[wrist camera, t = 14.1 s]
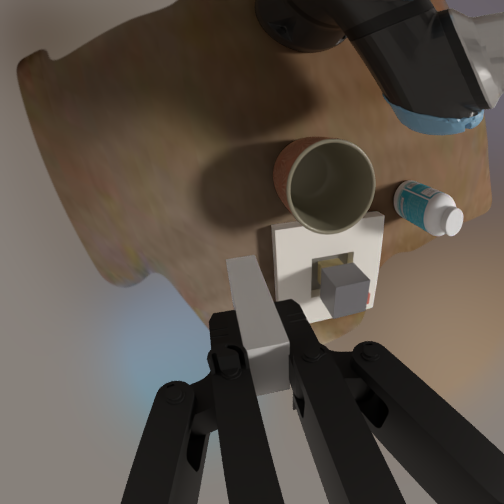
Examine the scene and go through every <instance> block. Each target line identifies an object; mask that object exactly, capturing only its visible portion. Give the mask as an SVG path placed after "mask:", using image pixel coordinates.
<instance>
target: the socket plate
mask: <svg viewBox="0 0 504 504" xmlns="http://www.w3.org/2000/svg"><path fill="white" fill-rule="evenodd" d="M384 218H385V215H383V214H381V213H380V212H378V211H373V212H367V213H366V214H365V215H364V217H363V218H362V219H361V220H360V221H359V222H358V223H357V224H355V225H354V226H353V227H351V228H349V229H348V230H346V231H343V232H340V233H337V234H330V235H325V234H318V233H315V232H312V231H310V230H308V229H306V228H305V227H303V226H302V225H301V224H300V223H299V222H298V221H295V222H287V223H280V224H273V225H271V229H272V245H273V261H274V278H275V296H276V302H277V301H283V300H288V299H293V300H294V301H295V302H297V303H298V304H300V306H301V308H302V310H303V312H304V314H305V316H306V318H307V320H308V322H309V323H312V322H317V321H321V320H325V319H330V318H332V316H331V315H330V313H329V311H328V310H327V308H326V307H325V305H324V304H323V302H322V300H321V299H320V288H321V285H320V284H319V282H318V281H317V280H318V262H319V261H324V260H330V259H335V258H339V259H340V260H341V262H342V263H343V264H347V263H352V262H353V263H354V264H355V265H356V266H357V267H358V268H359V269H360V270H361V271H362V272H363V273H364V274H365V275H366V276H367V277H368V278H369V279H370V286H369V293H368V299H367V305H366V309H369V308H372V307H373V302H374V296H375V290H376V284H377V278H378V271H379V264H380V256H381V248H382V239H383V229H384Z"/></svg>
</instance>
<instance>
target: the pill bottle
mask: <svg viewBox="0 0 504 504" xmlns="http://www.w3.org/2000/svg"><path fill="white" fill-rule="evenodd" d="M394 207H395V210H396V212H397V213H398V214H399V215H400V216H401V217H403V218H405V219H406V220H408V221H410V222H411V223H413V224H415V225H417V226H418V227H420V228H422V229H423V230H425V231H427V232H428V233H430V234H432V235H434V236H442V235H444V234H447V235H449V236H454V235H456V234H457V233H458V231H459V230H460V228H461V226H462V223H463V213H462V211H461V210H460V209H459V208H457V207H456V205H455V202H454V200H453V199H452V198H451V197H450V196H449V195H448V194H445V193H443V192H441V191H438V190H436V189H433V188H431V187H428V186H426V185H423V184H421V183H418V182H416V181H412V180H408V181H405V182H403V183H402V184H401V185H400V186H399V187H398V188H397V190H396V192H395V195H394Z"/></svg>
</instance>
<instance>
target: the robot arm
mask: <svg viewBox="0 0 504 504" xmlns="http://www.w3.org/2000/svg"><path fill="white" fill-rule="evenodd" d="M255 11H256V15H257V18H258V21H259V22H260V24H261V26H262V27H263V29H264V30H265V31H266V32H267V33H268V34H269V35H270V36H271V37H272V38H273V39H275V40H276V41H277V42H279V43H281V44H282V45H284V46H286V47H289V48H291V49H294V50H298V51H302V52H321V51H325V50H328V49H330V48H333V47H335V46H337V45H339V44H340V43H341V42H343V41H344V40H345V39H346V38H348V39H349V40H350V42H351V44H352V45H353V46H354V48H355V49H356V51H357V52H358V54H359V55H360V57H361V58H362V60H363V61H364V63H365V64H366V66H367V68H368V69H369V71H370V72H371V74H372V76H373V77H374V79H375V80H376V82H377V84H378V86H379V87H380V89H381V91H382V92H383V97H384V99H385V100H386V101H387V102H388V103H389V104H390V105H391V107H392V109H393V111H394V112H395V114H396V116H397V118H398V119H399V120H400V121H401V123H402V124H404V125H406V126H407V127H408V128H410V129H411V130H413V131H416V132H419V133H423V134H429V135H451V134H457V133H461V132H464V131H465V128H468V129H472V128H474V127H475V126H477V125H478V124H479V123H480V122H481V120H482V119H483V113H484V109H492V108H494V107H495V105H496V103H497V102H498V100H499V97H500V96H501V95H502V94H503V93H504V12H502V13H495V14H489V15H484V16H479V17H468V16H466V15H464V14H462V13H460V12H458V11H456V10H454V9H447V10H443V11H439V12H438V11H436V9H435V7H434V6H433V4H432V3H431V1H430V0H256V1H255ZM226 263H227V270H228V276H229V282H230V289H231V295H232V301H233V306H234V310H231V311H225V312H219V313H213V315H212V317H211V319H210V321H209V329H210V340H211V350H210V352H209V353H208V356H207V360H208V364H209V367H210V370H211V371H210V373H209V374H208V375H207V376H206V377H205V378H204V379H202V380H200V381H198V382H196V383H193V384H191V385H189V384H187V383H186V382H182V381H171V382H169V383H166V384H165V385H163V386H162V387H161V388H160V389H159V390H158V392H157V394H156V397H155V399H154V402H153V405H152V408H151V411H150V414H149V417H148V420H147V423H146V426H145V428H144V431H143V435H142V437H141V440H140V444H139V446H138V449H137V452H136V456H135V459H134V462H133V465H132V468H131V471H130V474H129V478H128V481H127V484H126V488H125V491H124V494H123V498H122V501H121V504H197V502H198V497H199V491H200V485H201V480H202V474H203V468H204V463H205V458H206V452H207V446H208V440H209V436H210V432H213V431H215V430H217V429H218V434H219V440H220V448H221V455H222V462H223V469H224V476H225V481H226V488H227V494H228V499H229V504H284V500H283V497H282V493H281V489H280V486H279V483H278V478H277V475H276V471H275V467H274V464H273V460H272V456H271V452H270V448H269V444H268V440H267V436H266V433H265V428H264V424H263V420H262V416H261V412H260V408H259V404H258V400H257V396H259V395H264V394H269V393H273V392H278V391H283V390H287V389H290V384H291V387H292V390H293V410H295V409H297V412H298V415H299V418H300V421H301V424H302V427H303V430H304V432H305V436H306V438H307V441H308V444H309V447H310V450H311V453H312V456H313V459H314V462H315V464H316V467H317V470H318V473H319V476H320V478H321V482H322V484H323V487H324V490H325V493H326V496H327V499H328V502H329V504H406V503H405V501H404V498H403V496H402V494H401V492H400V490H399V488H398V486H397V484H396V482H395V480H394V477H393V475H392V473H391V471H390V469H389V467H388V465H387V463H386V461H385V459H384V457H383V455H382V453H381V451H380V449H379V447H378V445H377V443H376V441H375V439H374V437H373V434H374V435H375V436H376V438H377V439H378V440H379V441H380V442H381V443H382V444H383V445H384V447H385V448H386V449H387V450H388V451H389V452H390V453H391V454H392V455H393V456H394V458H396V460H397V461H398V462H399V463H400V464H401V465H402V466H403V467H404V468H405V470H407V472H408V473H409V474H410V475H411V476H412V477H413V478H414V479H415V480H416V481H417V482H418V483H419V485H420V486H421V487H422V488H423V489H424V490H425V491H426V492H427V493H428V494H429V495H430V496H431V497H432V498H433V499H434V500H435V502H436V503H437V504H504V454H503V453H502V452H501V451H500V450H499V449H498V448H497V447H496V446H495V445H494V444H492V443H491V442H490V441H489V440H488V439H487V438H486V437H485V436H484V435H483V434H481V433H480V432H479V431H478V430H477V429H476V428H475V427H474V426H473V425H472V424H471V423H469V422H468V421H467V420H466V419H465V418H464V417H463V416H462V415H461V414H460V413H458V412H457V411H456V410H455V409H454V408H453V407H451V405H449V404H448V403H447V402H446V401H445V400H444V399H443V398H442V397H441V396H439V395H438V394H437V393H436V392H435V391H434V390H433V389H431V388H430V387H429V386H428V385H427V384H426V383H425V382H424V381H423V380H421V379H420V378H419V377H418V376H417V375H416V374H415V373H413V372H412V371H411V370H410V369H409V368H408V367H407V366H405V365H404V364H403V363H402V362H401V361H400V360H399V359H397V358H396V357H395V356H394V355H393V354H392V353H390V352H389V351H388V350H387V349H386V348H385V347H384V346H382V345H381V344H379V343H376V342H373V341H365V342H362V343H359V344H358V345H357V346H356V347H354V349H353V352H336V351H331V350H329V349H328V348H327V347H326V346H324V345H322V344H320V343H319V341H318V339H317V337H316V335H315V333H314V331H313V330H312V328H311V326H310V324H309V322H308V320H307V318H306V316H305V314H304V312H303V310H302V308H301V306H300V304H298V303H297V302H295V301H294V300H293V299H288V300H283V301H277V302H273V299H272V297H271V294H270V292H269V289H268V287H267V284H266V282H265V280H264V277H263V275H262V272H261V270H260V267H259V265H258V262H257V260H256V257H255V255H251V256H245V257H238V258H232V259H226ZM372 433H373V434H372Z"/></svg>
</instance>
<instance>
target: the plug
mask: <svg viewBox="0 0 504 504" xmlns="http://www.w3.org/2000/svg"><path fill="white" fill-rule="evenodd" d="M317 281H318V282H319V284H320V285H321V288H320V299H321V300H322V302H323V304H324V305H325V307H326V308H327V310H328V311H329V313H330V315H331V316H332V318H333V319H335V318H339V317H343V316H347V315H351V314H355V313H358V312H362V311H366V305H367V299H368V293H369V286H370V279H369V278H368V277H367V276H366V275H365V274H364V273H363V272H362V271H361V270H360V269H359V268H358V267H357V266H356V265H355V264H354V263H353V262H352V263H347V264H343V263H342V262H341V260H340V259H339V258H335V259H330V260H324V261H319V262H318V280H317Z"/></svg>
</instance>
